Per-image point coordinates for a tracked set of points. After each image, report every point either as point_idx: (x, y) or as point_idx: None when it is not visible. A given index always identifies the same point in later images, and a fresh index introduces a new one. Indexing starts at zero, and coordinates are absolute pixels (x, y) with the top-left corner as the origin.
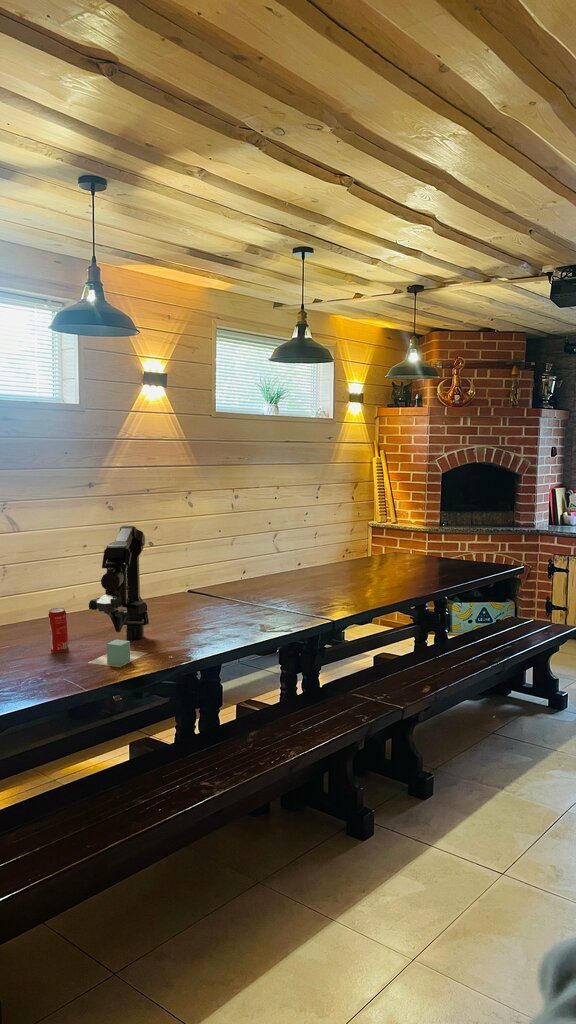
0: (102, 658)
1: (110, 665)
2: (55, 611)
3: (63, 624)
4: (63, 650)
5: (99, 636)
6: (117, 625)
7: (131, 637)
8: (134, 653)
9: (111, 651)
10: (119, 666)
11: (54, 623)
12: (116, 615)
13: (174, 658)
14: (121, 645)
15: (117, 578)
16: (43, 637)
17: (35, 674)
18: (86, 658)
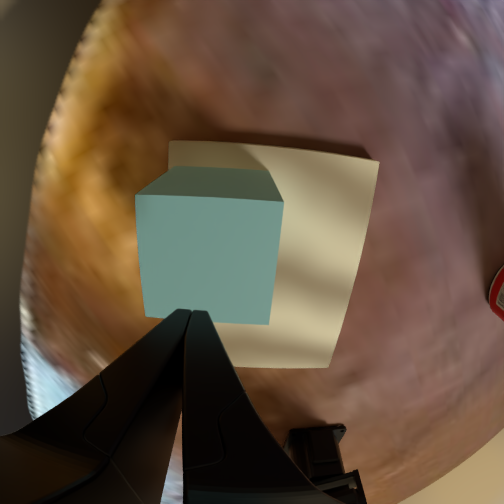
0: (338, 243)
1: (233, 149)
2: None
3: None
4: (501, 278)
5: (421, 422)
6: (153, 355)
7: (315, 441)
8: (225, 348)
9: (234, 183)
10: (175, 152)
11: None
12: (28, 484)
13: (78, 349)
14: (136, 206)
15: None
16: None
17: (487, 27)
18: (417, 253)
